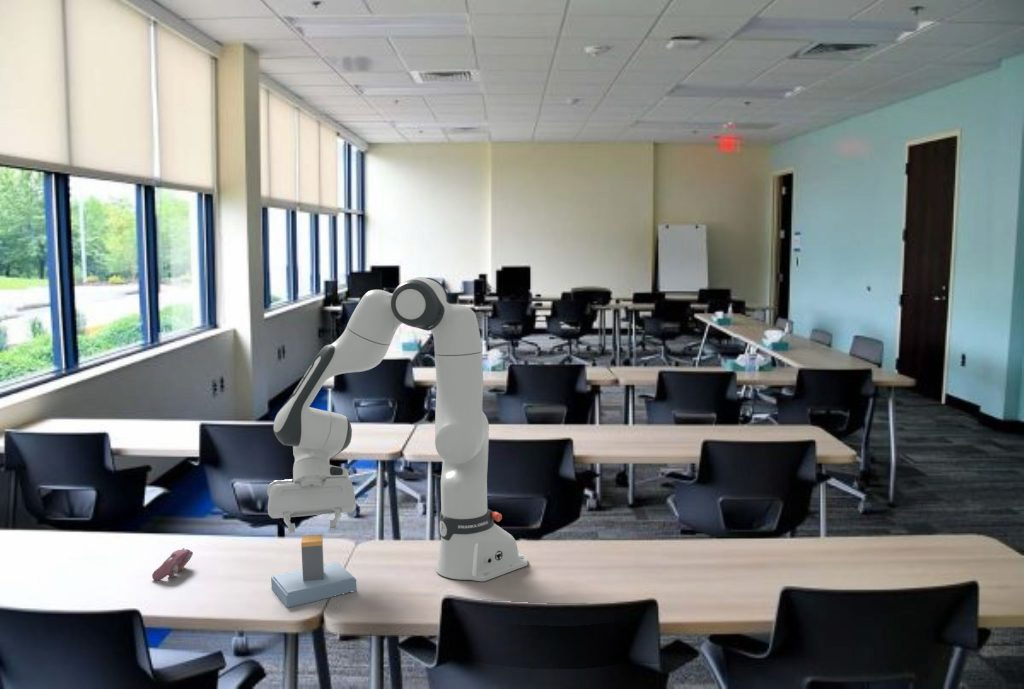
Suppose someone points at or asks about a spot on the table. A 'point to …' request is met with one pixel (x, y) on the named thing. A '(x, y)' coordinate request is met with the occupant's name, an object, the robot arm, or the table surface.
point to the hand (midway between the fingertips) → (312, 530)
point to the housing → (312, 557)
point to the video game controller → (173, 564)
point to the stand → (312, 585)
